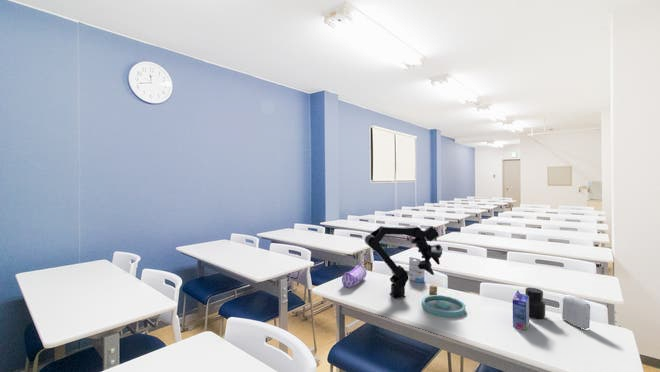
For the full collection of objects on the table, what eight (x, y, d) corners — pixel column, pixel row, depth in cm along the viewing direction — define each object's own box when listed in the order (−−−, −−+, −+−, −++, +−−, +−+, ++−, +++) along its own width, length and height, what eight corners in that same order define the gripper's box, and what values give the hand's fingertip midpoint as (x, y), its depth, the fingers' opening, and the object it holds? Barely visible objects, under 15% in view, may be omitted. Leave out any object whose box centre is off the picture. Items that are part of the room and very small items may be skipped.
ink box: (424, 281, 186) (425, 258, 185) (420, 283, 183) (420, 259, 182) (413, 278, 192) (413, 255, 192) (408, 279, 189) (408, 256, 189)
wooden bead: (432, 296, 163) (432, 288, 163) (427, 293, 167) (427, 285, 167) (438, 295, 164) (438, 287, 164) (433, 292, 168) (434, 284, 168)
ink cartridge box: (514, 318, 138) (515, 287, 137) (529, 322, 134) (530, 290, 134) (511, 326, 130) (512, 293, 129) (526, 330, 126) (527, 297, 126)
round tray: (439, 319, 136) (439, 314, 136) (414, 302, 155) (414, 297, 155) (474, 313, 142) (474, 308, 142) (446, 297, 161) (446, 293, 161)
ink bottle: (544, 313, 143) (545, 288, 142) (547, 321, 135) (548, 295, 134) (520, 309, 147) (521, 285, 147) (522, 316, 139) (522, 291, 139)
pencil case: (353, 276, 195) (353, 262, 194) (367, 278, 191) (367, 264, 190) (340, 287, 175) (340, 271, 174) (355, 290, 171) (355, 274, 170)
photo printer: (591, 330, 127) (592, 301, 127) (583, 331, 127) (584, 302, 126) (568, 318, 138) (568, 292, 137) (560, 319, 137) (561, 292, 136)
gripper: (429, 254, 153) (443, 279, 155) (441, 234, 166) (454, 257, 167) (411, 256, 161) (425, 280, 163) (424, 237, 174) (436, 259, 175)
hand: (436, 269), depth 167 cm, fingers open, 9 cm apart
